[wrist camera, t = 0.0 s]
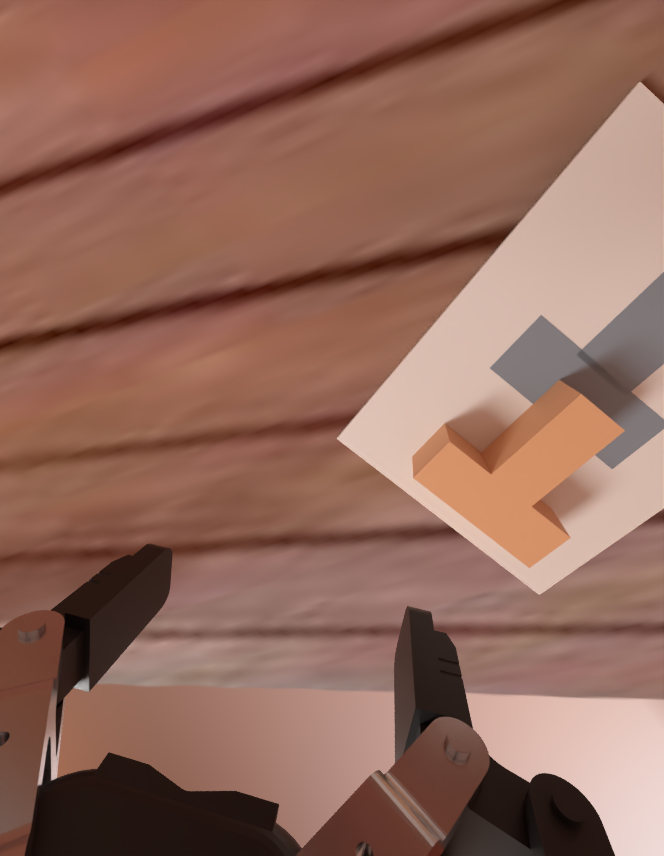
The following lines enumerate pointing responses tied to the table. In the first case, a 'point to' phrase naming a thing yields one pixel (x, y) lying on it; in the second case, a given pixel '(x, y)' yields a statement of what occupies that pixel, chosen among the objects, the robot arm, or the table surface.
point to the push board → (552, 345)
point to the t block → (517, 470)
